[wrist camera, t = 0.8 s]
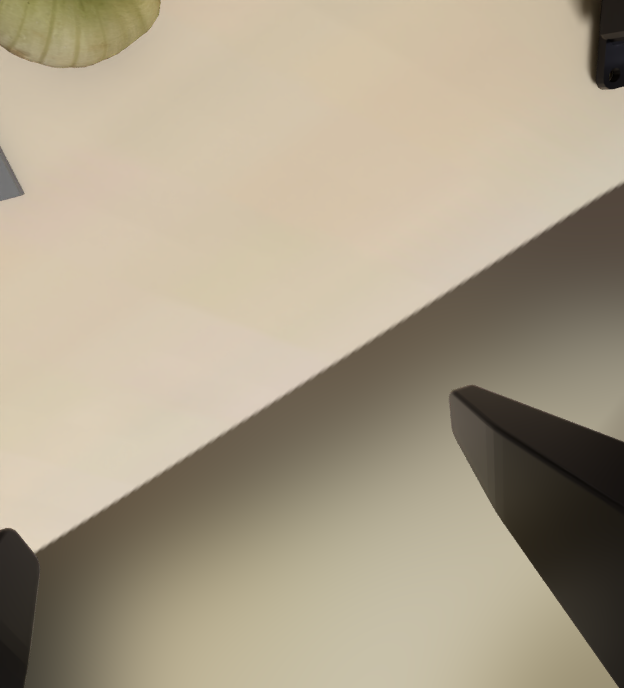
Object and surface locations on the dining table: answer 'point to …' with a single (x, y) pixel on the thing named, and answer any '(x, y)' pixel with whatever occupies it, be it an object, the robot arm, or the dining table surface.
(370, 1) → the dining table surface
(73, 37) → the fennel bulb
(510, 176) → the dining table surface
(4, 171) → the mat
